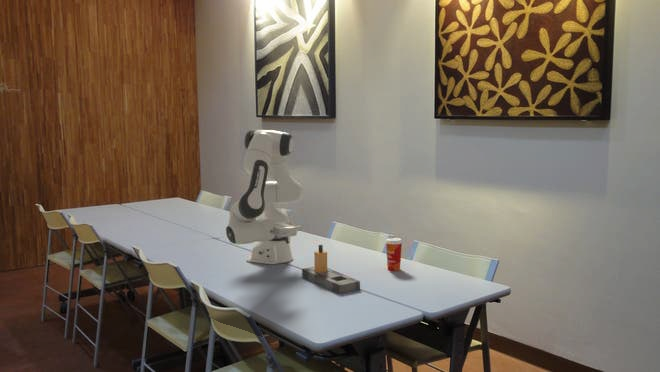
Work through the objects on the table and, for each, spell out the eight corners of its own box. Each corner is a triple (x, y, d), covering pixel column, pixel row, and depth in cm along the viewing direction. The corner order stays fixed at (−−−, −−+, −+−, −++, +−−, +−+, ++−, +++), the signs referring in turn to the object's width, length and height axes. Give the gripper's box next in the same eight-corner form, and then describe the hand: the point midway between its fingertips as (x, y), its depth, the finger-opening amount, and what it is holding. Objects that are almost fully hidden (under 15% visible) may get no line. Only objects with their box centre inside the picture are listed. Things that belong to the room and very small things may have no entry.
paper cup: (382, 268, 272) (382, 238, 270) (397, 266, 274) (397, 237, 272) (390, 272, 264) (390, 242, 263) (405, 270, 267) (405, 240, 265)
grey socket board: (302, 276, 260) (302, 268, 260) (321, 272, 265) (321, 265, 265) (339, 293, 235) (339, 285, 234) (360, 289, 240) (360, 281, 240)
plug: (314, 278, 257) (314, 244, 255) (322, 277, 259) (322, 243, 257) (319, 280, 253) (319, 246, 251) (327, 279, 255) (327, 245, 253)
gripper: (277, 226, 230) (308, 222, 237) (254, 218, 247) (284, 215, 254) (278, 242, 231) (308, 237, 238) (255, 233, 248) (284, 229, 255)
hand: (295, 226), depth 246 cm, fingers open, 8 cm apart
